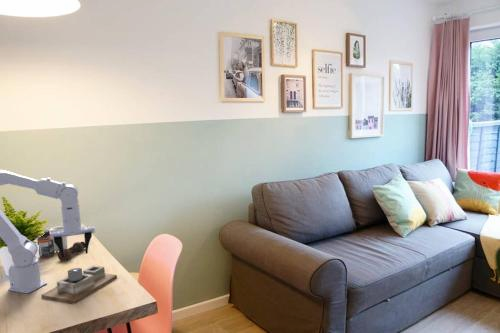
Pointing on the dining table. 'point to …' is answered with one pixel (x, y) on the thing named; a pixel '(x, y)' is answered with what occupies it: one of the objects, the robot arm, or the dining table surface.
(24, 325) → the dining table surface
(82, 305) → the dining table surface
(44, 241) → the supplement bottle
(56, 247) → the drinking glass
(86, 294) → the fitting board
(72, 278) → the gray metal cylinder
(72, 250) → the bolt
